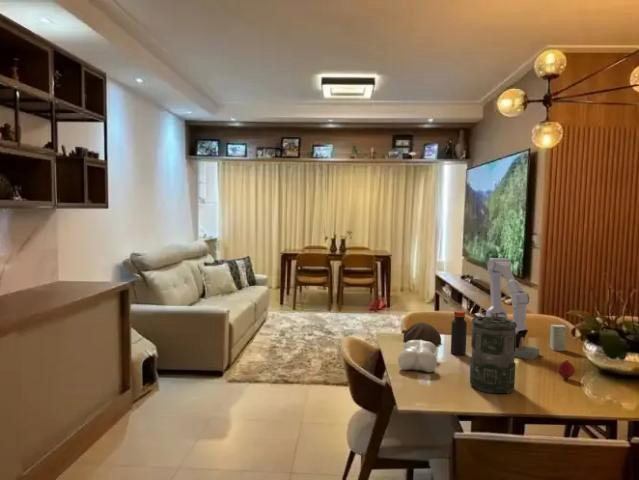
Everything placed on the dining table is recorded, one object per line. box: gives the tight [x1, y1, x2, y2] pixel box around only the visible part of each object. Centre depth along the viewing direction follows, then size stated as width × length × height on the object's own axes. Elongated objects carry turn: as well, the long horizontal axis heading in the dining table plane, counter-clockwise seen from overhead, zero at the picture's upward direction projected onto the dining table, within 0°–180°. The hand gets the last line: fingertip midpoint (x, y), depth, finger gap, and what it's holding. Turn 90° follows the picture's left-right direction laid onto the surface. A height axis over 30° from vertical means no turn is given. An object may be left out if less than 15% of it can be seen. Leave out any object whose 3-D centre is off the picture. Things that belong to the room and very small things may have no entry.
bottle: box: [450, 310, 468, 357], centre depth 227 cm, size 7×7×20 cm
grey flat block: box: [514, 344, 540, 361], centre depth 229 cm, size 16×12×3 cm
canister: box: [469, 312, 517, 394], centre depth 181 cm, size 16×16×28 cm
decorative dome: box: [402, 322, 442, 346], centre depth 249 cm, size 19×20×10 cm
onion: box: [557, 359, 575, 380], centre depth 193 cm, size 6×6×8 cm
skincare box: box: [549, 324, 567, 352], centre depth 239 cm, size 6×4×12 cm
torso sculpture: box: [397, 340, 438, 373], centre depth 209 cm, size 16×11×30 cm
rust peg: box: [517, 337, 525, 349], centre depth 229 cm, size 3×3×8 cm
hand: (518, 346), depth 229 cm, fingers open, 7 cm apart
